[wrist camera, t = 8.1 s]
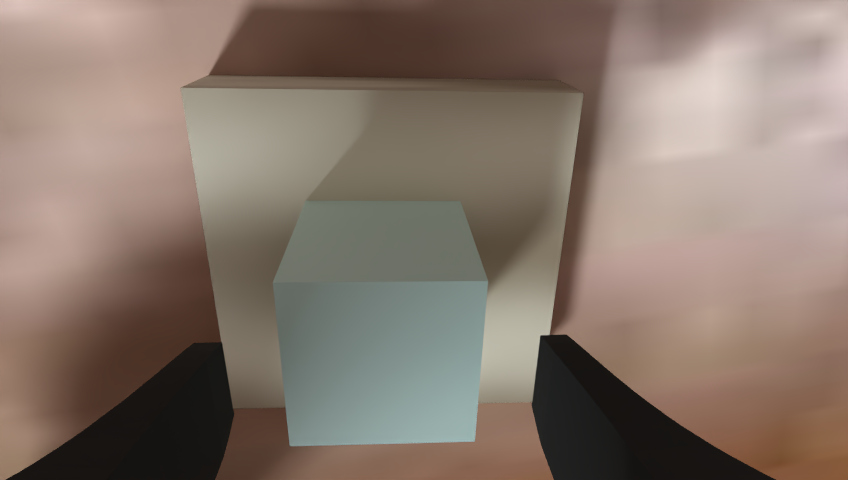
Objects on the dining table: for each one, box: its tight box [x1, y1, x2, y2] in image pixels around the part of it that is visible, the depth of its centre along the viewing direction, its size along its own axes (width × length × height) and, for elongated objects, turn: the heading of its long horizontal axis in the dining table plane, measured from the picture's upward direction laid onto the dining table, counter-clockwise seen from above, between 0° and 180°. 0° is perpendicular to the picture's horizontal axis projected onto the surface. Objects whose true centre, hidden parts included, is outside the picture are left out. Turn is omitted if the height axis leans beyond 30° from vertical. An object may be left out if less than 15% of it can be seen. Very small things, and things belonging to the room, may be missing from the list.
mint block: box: [273, 200, 488, 446], centre depth 15 cm, size 5×5×5 cm
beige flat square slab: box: [181, 75, 584, 409], centre depth 18 cm, size 11×11×3 cm
